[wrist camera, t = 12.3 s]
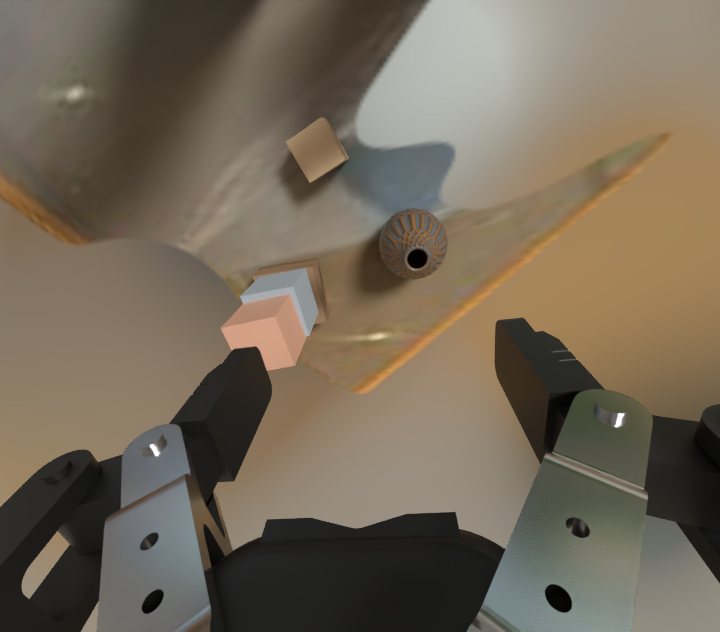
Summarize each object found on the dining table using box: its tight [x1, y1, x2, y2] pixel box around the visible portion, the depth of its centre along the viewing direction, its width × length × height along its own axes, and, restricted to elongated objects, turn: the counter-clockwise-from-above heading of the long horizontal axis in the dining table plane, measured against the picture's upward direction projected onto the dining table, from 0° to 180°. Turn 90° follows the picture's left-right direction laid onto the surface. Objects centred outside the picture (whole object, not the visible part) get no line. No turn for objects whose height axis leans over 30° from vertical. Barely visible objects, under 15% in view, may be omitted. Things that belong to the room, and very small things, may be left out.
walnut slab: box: [252, 259, 330, 324], centre depth 40 cm, size 7×7×4 cm
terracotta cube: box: [221, 294, 306, 371], centre depth 31 cm, size 5×5×5 cm
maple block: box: [286, 117, 349, 183], centre depth 32 cm, size 4×4×4 cm
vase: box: [379, 209, 448, 279], centre depth 33 cm, size 7×7×9 cm
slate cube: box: [240, 268, 319, 336], centre depth 36 cm, size 6×6×6 cm
